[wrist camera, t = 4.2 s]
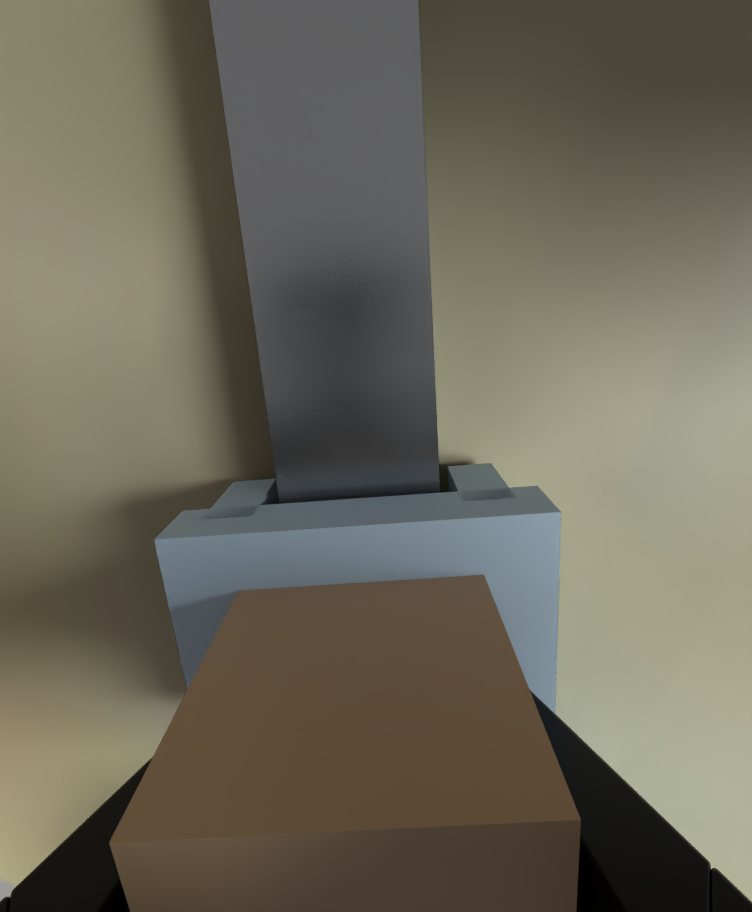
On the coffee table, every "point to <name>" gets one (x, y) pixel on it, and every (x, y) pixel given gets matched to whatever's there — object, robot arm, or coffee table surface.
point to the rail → (335, 238)
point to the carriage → (359, 708)
